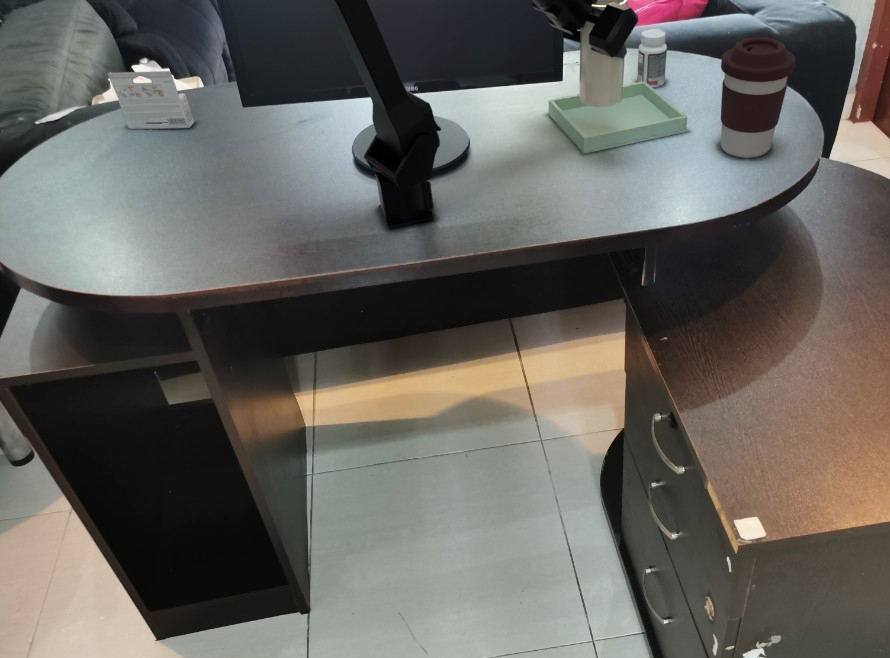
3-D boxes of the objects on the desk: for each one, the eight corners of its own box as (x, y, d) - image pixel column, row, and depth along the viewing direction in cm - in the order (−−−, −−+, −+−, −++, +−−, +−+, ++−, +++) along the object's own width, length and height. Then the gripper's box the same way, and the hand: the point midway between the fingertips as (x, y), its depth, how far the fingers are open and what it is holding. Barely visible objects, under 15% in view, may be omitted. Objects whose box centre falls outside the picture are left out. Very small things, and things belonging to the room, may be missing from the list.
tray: (584, 153, 126) (584, 138, 124) (548, 114, 136) (548, 100, 135) (686, 132, 129) (687, 116, 127) (643, 95, 140) (644, 81, 138)
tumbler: (606, 110, 122) (610, 9, 113) (571, 101, 125) (572, 2, 116) (630, 96, 126) (635, -3, 117) (595, 88, 129) (598, -9, 120)
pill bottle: (669, 80, 144) (672, 30, 138) (657, 90, 141) (660, 39, 136) (644, 75, 146) (647, 26, 140) (632, 85, 143) (634, 35, 138)
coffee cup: (793, 152, 122) (813, 49, 112) (738, 169, 120) (754, 65, 109) (750, 127, 129) (765, 27, 119) (698, 143, 126) (708, 42, 116)
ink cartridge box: (134, 123, 143) (112, 66, 136) (195, 122, 142) (176, 65, 135) (128, 130, 141) (105, 72, 134) (190, 129, 140) (171, 71, 133)
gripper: (631, -58, 102) (686, 14, 114) (538, -84, 114) (597, -16, 126) (582, 24, 104) (641, 86, 117) (495, -9, 116) (557, 51, 128)
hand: (608, 49), depth 122 cm, fingers closed on tumbler, 6 cm apart
